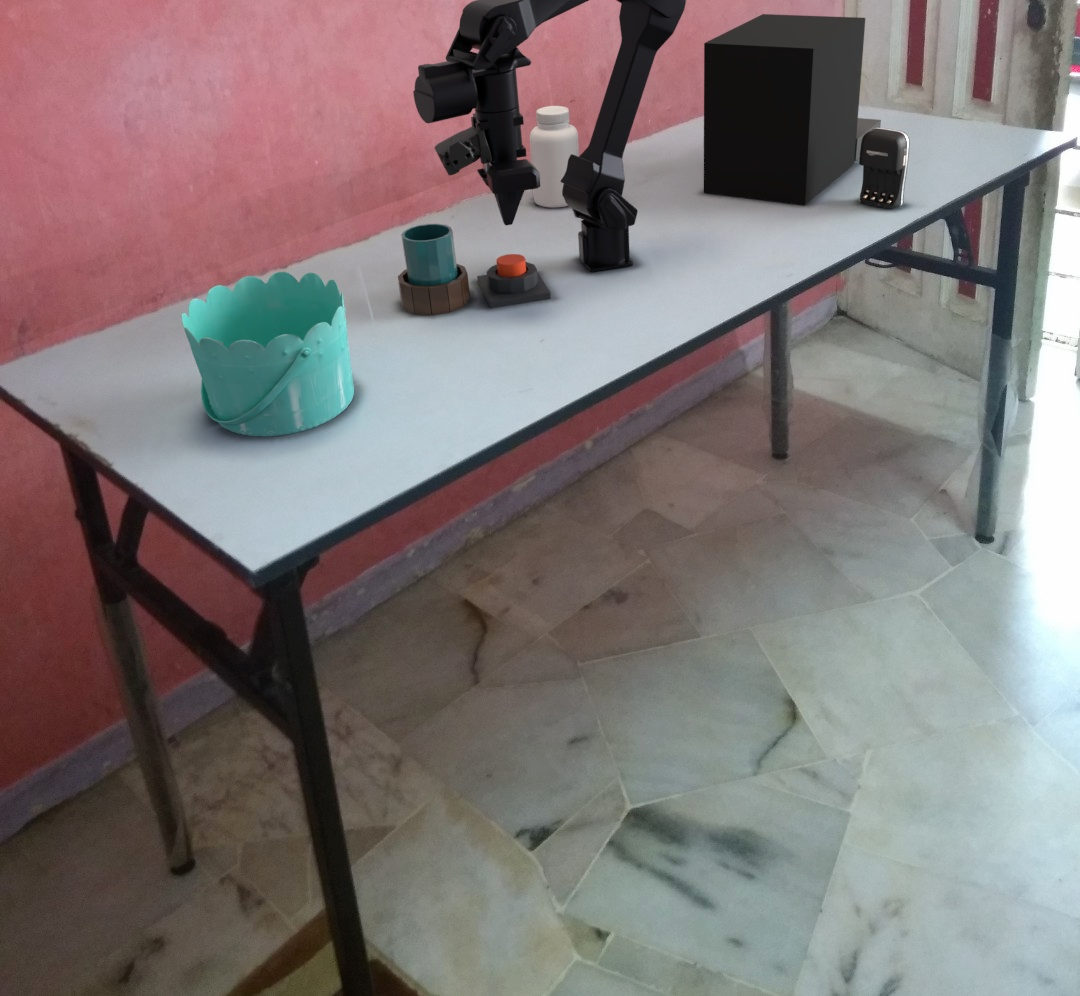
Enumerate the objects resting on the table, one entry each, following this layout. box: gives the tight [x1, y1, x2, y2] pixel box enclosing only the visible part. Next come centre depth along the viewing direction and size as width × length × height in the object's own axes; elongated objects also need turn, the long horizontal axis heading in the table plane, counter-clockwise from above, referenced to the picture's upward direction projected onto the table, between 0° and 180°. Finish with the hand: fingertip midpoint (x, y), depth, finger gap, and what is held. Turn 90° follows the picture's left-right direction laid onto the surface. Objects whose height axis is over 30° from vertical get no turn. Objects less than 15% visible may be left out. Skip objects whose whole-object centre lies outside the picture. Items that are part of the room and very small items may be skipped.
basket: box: [180, 271, 355, 437], centre depth 133 cm, size 19×18×13 cm
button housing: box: [476, 261, 552, 309], centre depth 160 cm, size 10×8×3 cm
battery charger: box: [858, 127, 911, 209], centre depth 176 cm, size 7×4×11 cm, turn 45°
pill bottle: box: [529, 105, 580, 208], centre depth 188 cm, size 8×8×15 cm
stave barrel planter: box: [397, 263, 471, 316], centre depth 158 cm, size 9×9×4 cm
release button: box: [495, 253, 526, 277], centre depth 159 cm, size 4×4×2 cm
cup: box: [400, 223, 458, 286], centre depth 157 cm, size 7×7×10 cm
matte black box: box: [703, 13, 882, 206], centre depth 191 cm, size 18×35×24 cm, turn 148°
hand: (508, 224), depth 156 cm, fingers closed
